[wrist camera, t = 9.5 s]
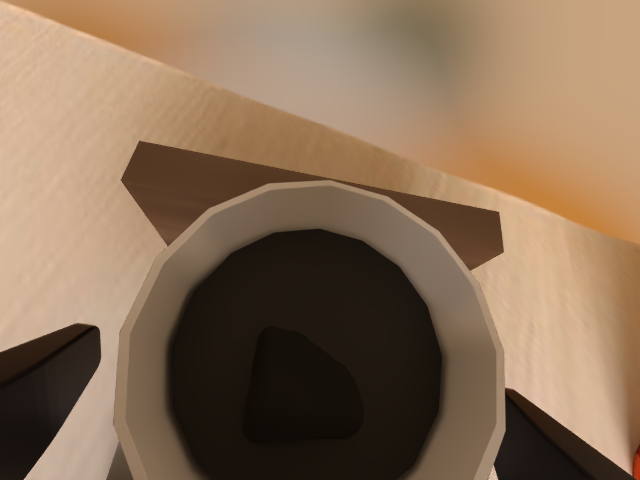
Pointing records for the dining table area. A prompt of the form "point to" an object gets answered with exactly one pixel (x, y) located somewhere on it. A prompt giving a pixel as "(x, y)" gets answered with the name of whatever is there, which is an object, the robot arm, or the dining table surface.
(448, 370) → the white cup
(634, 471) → the paper cup
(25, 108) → the dining table surface
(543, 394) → the dining table surface
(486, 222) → the holder
